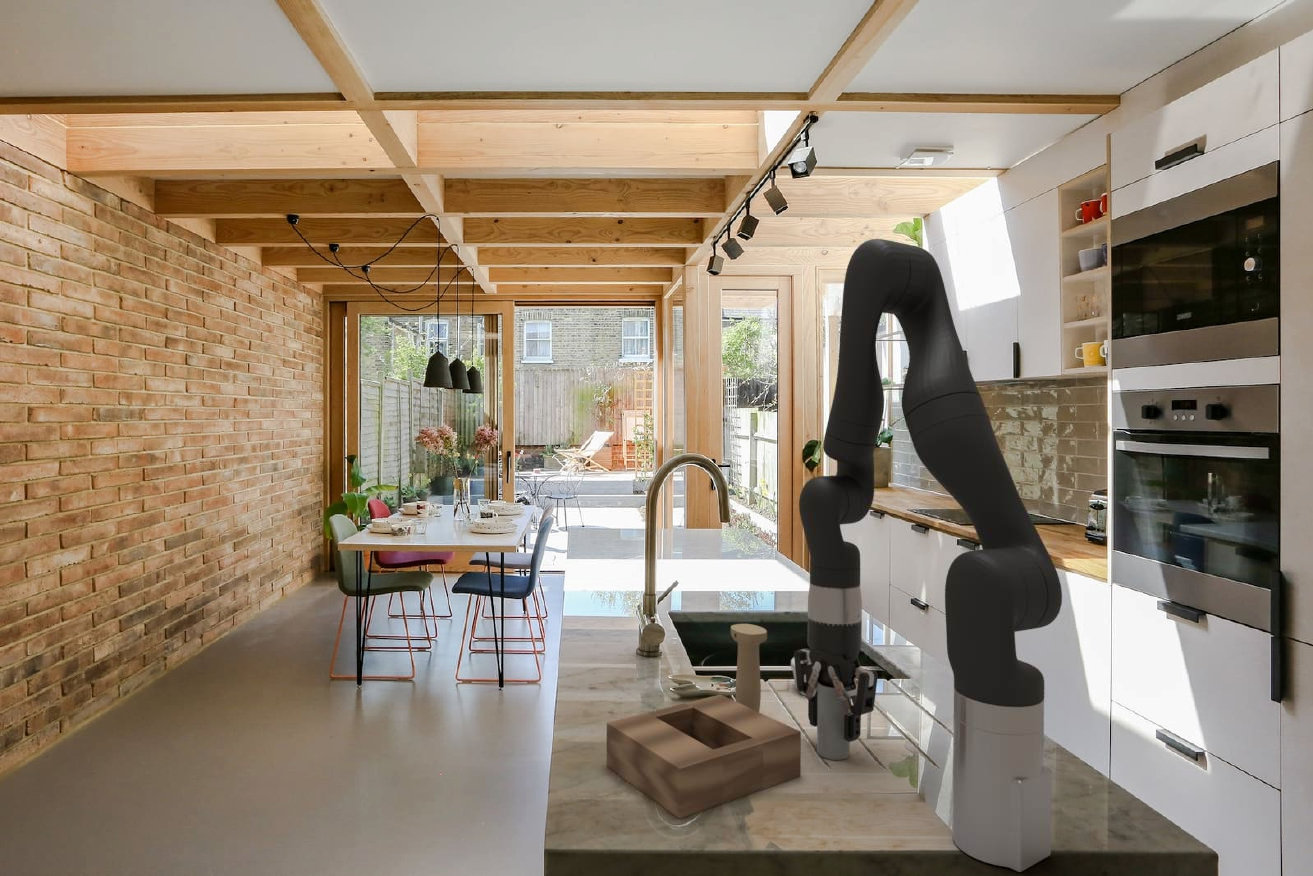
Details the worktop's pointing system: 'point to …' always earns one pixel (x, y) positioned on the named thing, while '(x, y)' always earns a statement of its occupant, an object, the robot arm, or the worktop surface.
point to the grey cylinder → (831, 724)
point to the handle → (748, 664)
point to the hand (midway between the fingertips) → (833, 731)
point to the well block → (702, 753)
